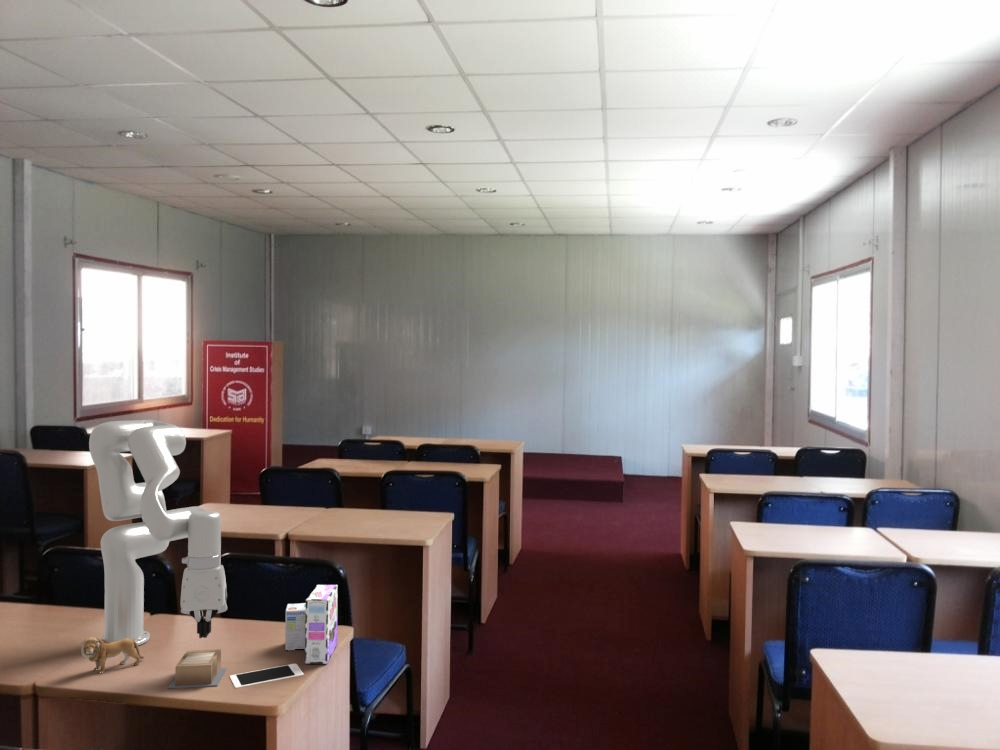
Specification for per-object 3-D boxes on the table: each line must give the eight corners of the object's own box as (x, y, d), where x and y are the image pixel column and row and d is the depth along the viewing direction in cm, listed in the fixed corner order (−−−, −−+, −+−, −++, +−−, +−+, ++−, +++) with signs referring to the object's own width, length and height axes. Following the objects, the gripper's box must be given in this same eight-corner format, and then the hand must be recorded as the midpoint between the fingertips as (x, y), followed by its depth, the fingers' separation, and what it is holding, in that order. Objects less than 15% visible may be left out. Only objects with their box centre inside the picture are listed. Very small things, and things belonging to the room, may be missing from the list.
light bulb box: (326, 639, 205) (327, 600, 204) (326, 648, 198) (326, 608, 198) (286, 642, 202) (286, 602, 202) (284, 651, 196) (284, 610, 196)
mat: (179, 671, 182) (179, 670, 182) (226, 669, 184) (226, 667, 184) (167, 688, 172) (167, 687, 172) (217, 686, 174) (217, 684, 174)
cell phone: (304, 676, 181) (304, 674, 181) (235, 690, 173) (235, 687, 173) (296, 665, 188) (296, 663, 188) (229, 678, 180) (229, 675, 180)
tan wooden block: (187, 650, 183) (175, 666, 173) (220, 648, 184) (211, 664, 174) (187, 668, 183) (175, 685, 173) (220, 667, 184) (211, 684, 174)
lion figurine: (84, 680, 177) (85, 642, 177) (77, 673, 180) (77, 636, 180) (148, 662, 188) (148, 627, 188) (139, 657, 191) (139, 622, 191)
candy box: (327, 664, 187) (328, 599, 187) (304, 664, 187) (304, 599, 187) (338, 644, 201) (338, 583, 201) (316, 644, 201) (316, 583, 201)
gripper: (168, 566, 178) (167, 643, 178) (232, 564, 181) (232, 640, 181) (176, 559, 186) (176, 632, 186) (239, 557, 188) (238, 629, 188)
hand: (204, 635), depth 183 cm, fingers closed
